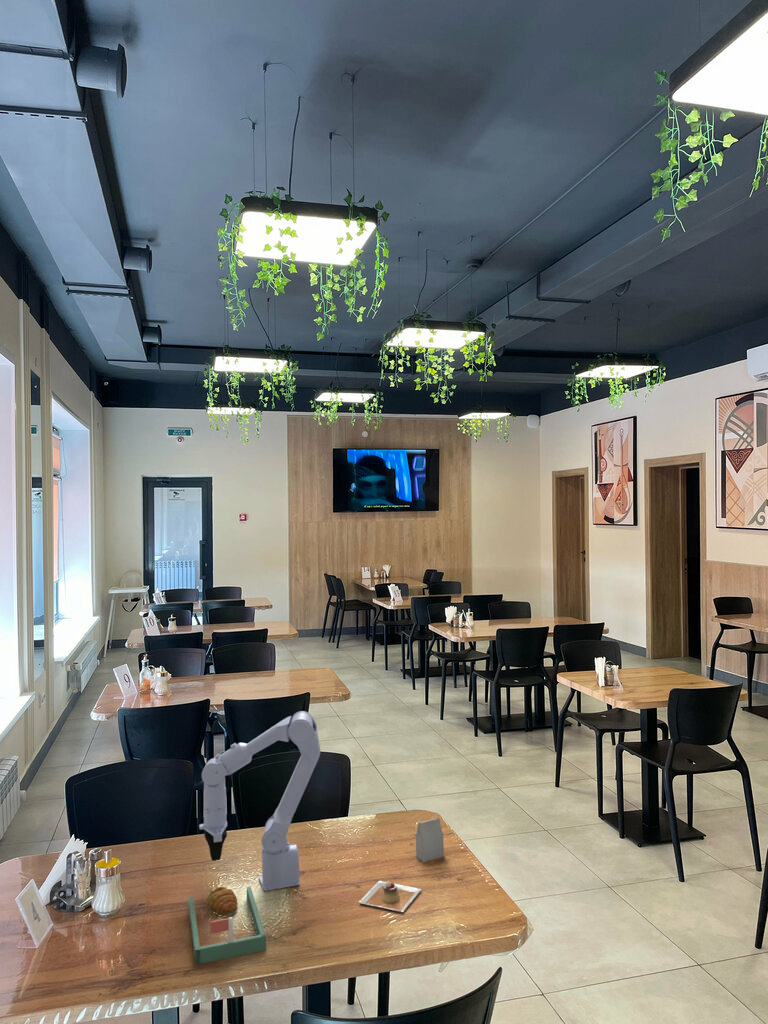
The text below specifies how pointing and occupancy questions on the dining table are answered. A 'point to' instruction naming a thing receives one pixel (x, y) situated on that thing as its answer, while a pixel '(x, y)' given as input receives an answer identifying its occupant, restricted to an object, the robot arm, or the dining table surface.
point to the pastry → (222, 901)
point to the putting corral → (231, 946)
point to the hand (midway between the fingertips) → (215, 859)
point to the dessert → (390, 894)
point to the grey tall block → (429, 840)
